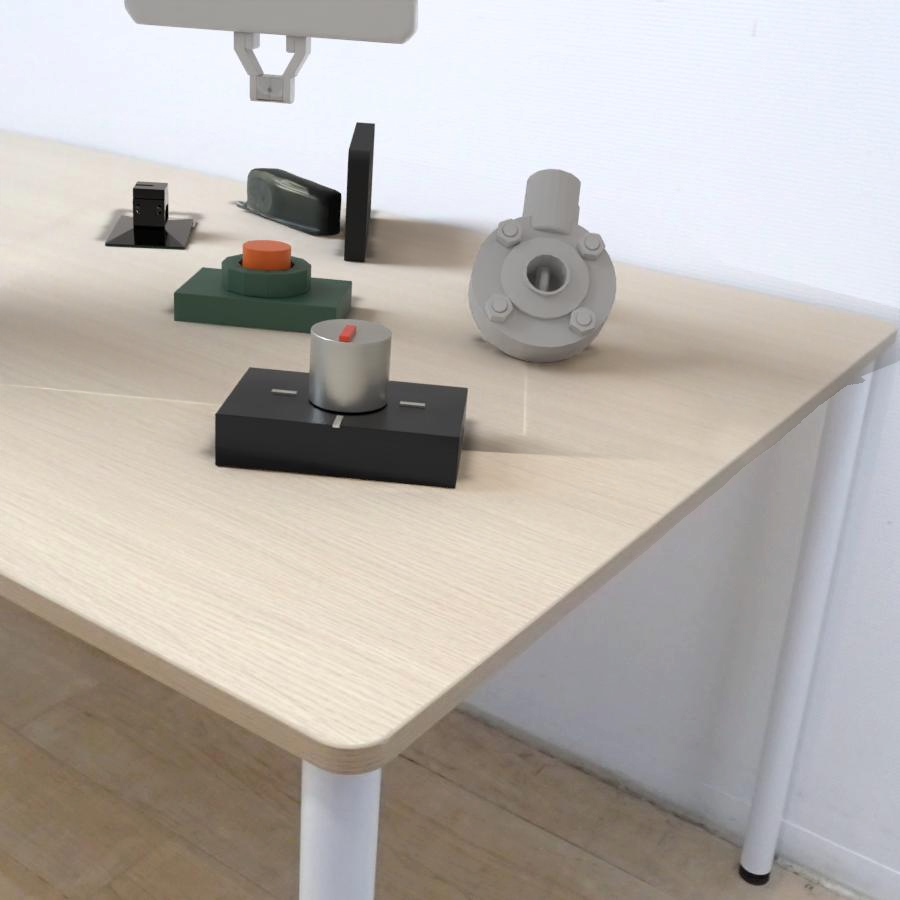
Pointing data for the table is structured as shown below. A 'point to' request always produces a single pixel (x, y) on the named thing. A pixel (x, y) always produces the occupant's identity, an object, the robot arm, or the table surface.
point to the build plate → (150, 221)
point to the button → (266, 255)
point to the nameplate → (359, 191)
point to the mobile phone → (293, 201)
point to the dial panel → (342, 431)
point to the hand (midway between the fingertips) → (272, 101)
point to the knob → (349, 365)
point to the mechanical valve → (543, 276)
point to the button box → (262, 297)
